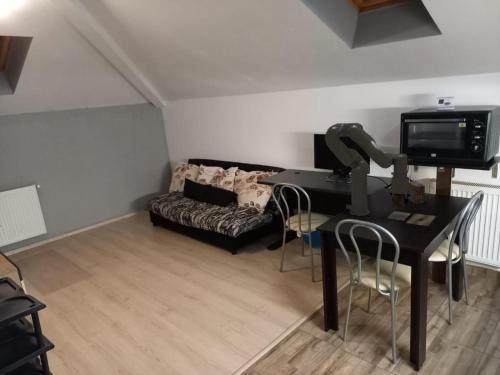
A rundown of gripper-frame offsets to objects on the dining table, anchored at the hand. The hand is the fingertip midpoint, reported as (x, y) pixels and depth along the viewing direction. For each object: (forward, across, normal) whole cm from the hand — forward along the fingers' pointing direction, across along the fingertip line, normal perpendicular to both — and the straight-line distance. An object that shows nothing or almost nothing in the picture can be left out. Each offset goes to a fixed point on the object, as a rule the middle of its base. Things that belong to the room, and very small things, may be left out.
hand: (400, 203), depth 232 cm
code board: (+8, +12, -1) cm, 15 cm away
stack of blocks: (+8, -3, +37) cm, 38 cm away
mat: (+8, 0, 0) cm, 8 cm away
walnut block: (+1, 0, 0) cm, 1 cm away
